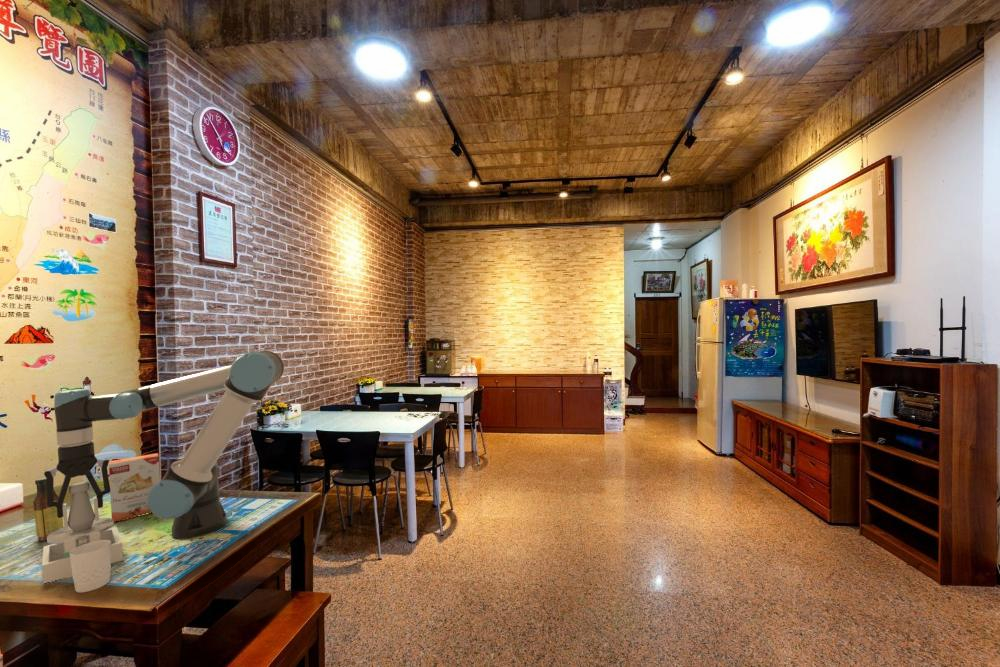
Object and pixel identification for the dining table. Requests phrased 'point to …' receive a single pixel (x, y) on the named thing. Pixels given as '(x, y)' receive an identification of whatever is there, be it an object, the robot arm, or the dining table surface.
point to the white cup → (91, 565)
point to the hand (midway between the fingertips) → (81, 523)
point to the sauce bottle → (45, 511)
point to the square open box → (59, 558)
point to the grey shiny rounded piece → (80, 532)
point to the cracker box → (132, 485)
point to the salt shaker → (80, 507)
